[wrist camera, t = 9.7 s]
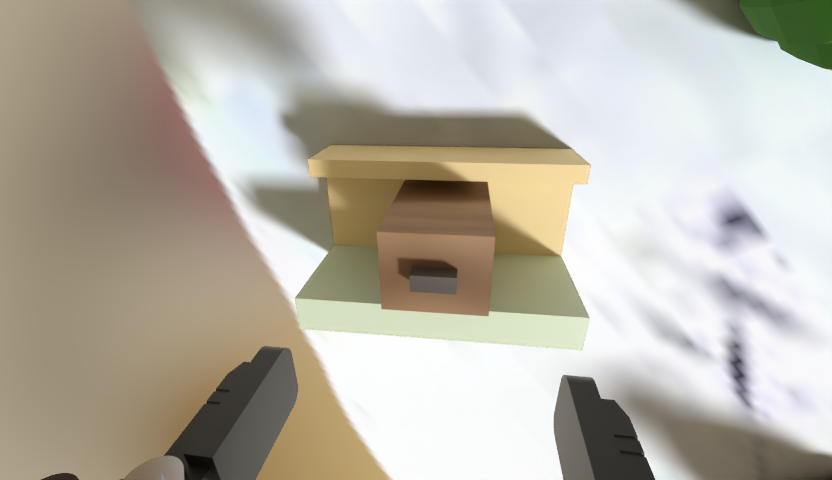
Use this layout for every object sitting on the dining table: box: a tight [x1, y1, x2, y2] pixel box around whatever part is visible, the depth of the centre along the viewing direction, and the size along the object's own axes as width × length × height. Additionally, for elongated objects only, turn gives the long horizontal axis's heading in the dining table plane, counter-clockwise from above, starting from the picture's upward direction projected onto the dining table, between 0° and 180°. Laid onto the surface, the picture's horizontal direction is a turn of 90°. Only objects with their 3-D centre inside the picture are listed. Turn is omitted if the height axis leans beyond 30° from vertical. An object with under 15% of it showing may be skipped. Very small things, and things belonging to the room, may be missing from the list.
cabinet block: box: [377, 179, 495, 316], centre depth 20 cm, size 4×5×9 cm
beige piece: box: [295, 145, 591, 350], centre depth 22 cm, size 8×15×8 cm, turn 91°
